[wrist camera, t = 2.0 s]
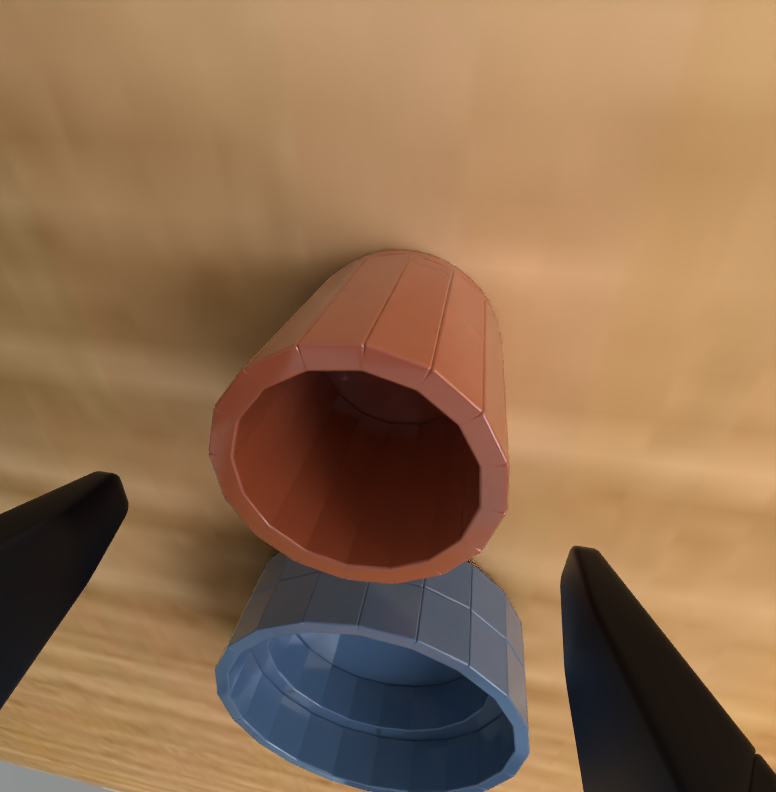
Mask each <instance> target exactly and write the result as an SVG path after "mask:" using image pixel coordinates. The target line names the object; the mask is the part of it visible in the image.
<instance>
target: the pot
mask: <svg viewBox="0 0 776 792" xmlns="http://www.w3.org/2000/svg"><path fill="white" fill-rule="evenodd" d="M209 456H210V459H211V462H212V465H213V468H214V470H215V473H216V476H217V479H218V482H219V485H220V488H221V490H222V493H223V495H224V496H225V499H226V500H227V502H228V503H229V504H230V505H231V506H232V508H233V509H234V510H235V511H236V513H237V514H238V515H239V516H240V517H241V519H242V520H243V521H244V522H245V523H246V525H247V526H248V527H249V528H250V529H251V531H252V532H253V533H254V534H256V536H258V537H259V538H261V539H262V540H264V541H265V542H267V543H268V544H270V545H271V546H272V547H274V548H275V549H277V550H278V551H280V552H281V553H283V554H284V555H286V556H287V557H289V558H290V559H292V560H293V561H295V562H297V561H298V563H299V564H302V565H305V566H308V567H310V568H313V569H316V570H319V571H321V572H324V573H327V574H330V575H333V576H335V577H338V578H341V579H344V578H345V579H346V580H352V581H363V582H373V583H384V584H394V583H395V584H400V583H405V582H410V581H415V580H420V579H425V578H431V577H436V576H440V575H441V574H442V575H444V574H446V573H448V572H449V571H451V570H452V569H454V568H456V567H457V566H459V565H461V564H462V563H464V562H466V561H467V560H469V559H471V558H472V557H474V556H476V555H477V554H479V553H480V552H481V551H482V550H483V549H484V547H485V546H486V544H487V543H488V541H489V540H490V538H491V537H492V535H493V533H494V532H495V530H496V529H497V527H498V526H499V524H500V523H501V521H502V519H503V518H504V516H505V515H506V511H507V509H508V490H509V468H510V464H509V448H508V431H507V415H506V399H505V383H504V367H503V351H502V338H501V333H500V331H499V326H498V322H497V319H496V316H495V313H494V311H493V309H492V307H491V305H490V303H489V301H488V299H487V298H486V296H485V295H484V293H483V292H482V291H481V289H480V288H479V287H478V286H477V285H476V284H475V283H474V282H473V280H472V279H471V278H470V277H468V276H467V275H466V274H465V273H463V272H462V271H461V270H460V269H458V268H456V267H455V266H453V265H451V264H450V263H448V262H446V261H444V260H442V259H439V258H437V257H435V256H431V255H428V254H424V253H421V252H414V251H408V250H390V251H382V252H377V253H373V254H369V255H366V256H363V257H361V258H359V259H356V260H354V261H352V262H351V263H349V264H347V265H346V266H344V267H343V268H341V269H340V270H339V271H338V272H336V273H334V274H333V275H332V276H330V277H329V278H328V279H327V280H326V281H325V282H324V284H323V285H322V286H321V287H320V288H319V289H318V290H317V291H316V292H315V293H314V294H313V295H312V296H311V297H310V298H309V299H308V300H307V301H306V302H305V303H304V304H303V305H302V307H301V308H300V309H299V310H298V311H297V312H296V313H295V314H294V315H293V316H292V317H291V318H290V319H289V320H288V321H287V322H286V323H285V324H284V325H283V326H282V327H281V328H280V330H279V331H278V332H277V333H276V334H275V335H274V336H273V337H272V338H271V339H270V340H269V341H268V342H267V343H266V344H265V345H264V346H263V347H262V348H261V349H260V350H259V351H258V353H257V354H256V355H255V356H254V357H253V358H252V359H251V360H250V361H249V362H248V363H247V364H246V365H245V366H244V367H243V368H242V369H241V371H240V372H239V373H238V375H237V376H236V377H235V379H234V380H233V381H232V383H231V384H230V385H229V387H228V388H227V389H226V391H225V392H224V393H223V395H222V396H221V397H220V399H219V400H218V401H217V403H216V404H215V408H214V411H213V419H212V428H211V436H210V444H209Z"/></svg>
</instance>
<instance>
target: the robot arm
mask: <svg viewBox="0 0 776 792" xmlns="http://www.w3.org/2000/svg"><path fill="white" fill-rule="evenodd" d="M127 511H128V500H127V497H126V494H125V491H124V488H123V485H122V482H121V479H120V477H119V476H118V475H117V474H114V473H108V472H102V471H97V472H93V473H91V474H89V475H87V476H84V477H82V478H80V479H78V480H75V481H73V482H71V483H69V484H67V485H64V486H62V487H60V488H58V489H55V490H53V491H51V492H49V493H46V494H44V495H42V496H40V497H38V498H35V499H33V500H31V501H29V502H26V503H24V504H22V505H20V506H17V507H15V508H13V509H11V510H9V511H6V512H4V513H2V514H0V709H1V708H2V707H3V705H4V704H5V702H6V701H7V699H8V698H9V696H10V695H11V694H12V692H13V691H14V689H15V688H16V686H17V685H18V683H19V682H20V681H21V679H22V678H23V676H24V675H25V673H26V672H27V670H28V669H29V667H30V666H31V665H32V663H33V662H34V660H35V659H36V657H37V656H38V654H39V653H40V652H41V650H42V649H43V647H44V646H45V644H46V643H47V641H48V640H49V639H50V637H51V636H52V634H53V633H54V631H55V630H56V628H57V627H58V625H59V624H60V623H61V621H62V620H63V618H64V617H65V615H66V614H67V612H68V611H69V610H70V608H71V607H72V605H73V604H74V602H75V601H76V599H77V598H78V597H79V595H80V594H81V592H82V591H83V589H84V588H85V586H86V585H87V583H88V582H89V580H90V578H91V576H92V575H93V573H94V571H95V570H96V568H97V566H98V564H99V563H100V561H101V559H102V557H103V555H104V554H105V552H106V550H107V548H108V547H109V545H110V543H111V541H112V539H113V538H114V536H115V534H116V532H117V531H118V529H119V527H120V525H121V523H122V522H123V520H124V518H125V516H126V514H127ZM560 589H561V609H562V630H563V650H564V667H565V677H566V684H567V691H568V697H569V703H570V709H571V716H572V722H573V728H574V734H575V740H576V746H577V753H578V759H579V765H580V771H581V777H582V783H583V790H584V792H776V774H775V773H774V771H773V770H772V769H771V768H770V766H769V765H768V764H767V762H766V761H765V760H764V759H763V757H762V756H761V755H759V754H755V748H754V746H753V745H752V744H751V743H750V741H749V740H748V739H747V738H746V736H745V735H744V734H743V733H742V731H741V730H740V729H739V728H738V726H737V725H736V724H735V722H734V721H733V720H732V719H731V717H730V716H729V715H728V714H727V712H726V711H725V710H724V709H723V707H722V706H721V705H720V704H719V702H718V701H717V700H716V699H715V697H714V696H713V695H712V693H711V692H710V691H709V690H708V688H707V687H706V686H705V685H704V683H703V682H702V681H701V680H700V678H699V677H698V676H697V675H696V673H695V672H694V671H693V670H692V668H691V667H690V666H689V664H688V663H687V662H686V661H685V659H684V658H683V657H682V656H681V654H680V653H679V652H678V651H677V649H676V648H675V647H674V646H673V644H672V643H671V642H670V640H669V639H668V638H667V637H666V635H665V634H664V633H663V632H662V630H661V629H660V628H659V627H658V625H657V624H656V623H655V622H654V620H653V619H652V618H651V617H650V615H649V614H648V613H647V611H646V610H645V609H644V608H643V606H642V605H641V604H640V603H639V601H638V600H637V599H636V598H635V596H634V595H633V594H632V593H631V591H630V590H629V589H628V588H627V586H626V585H625V584H624V582H623V581H622V580H621V579H620V577H619V576H618V575H617V574H616V572H615V571H614V570H613V569H612V567H611V566H610V565H609V564H608V562H607V561H606V560H605V559H604V557H603V556H602V555H601V553H600V552H599V551H597V550H596V549H594V548H588V547H582V546H573V547H572V548H571V550H570V552H569V555H568V558H567V561H566V564H565V567H564V569H563V572H562V576H561V584H560Z"/></svg>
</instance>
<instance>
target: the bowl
mask: <svg viewBox="0 0 776 792" xmlns="http://www.w3.org/2000/svg"><path fill="white" fill-rule="evenodd" d="M215 676H216V685H217V694H218V696H219V698H220V699H221V701H222V702H223V704H224V706H225V707H226V709H227V711H228V712H229V714H230V716H231V717H232V719H234V721H235V722H236V723H238V724H239V725H240V726H241V727H242V728H243V729H244V730H245V731H246V732H247V733H248V734H249V735H251V736H252V737H253V738H254V739H255V740H256V741H257V742H258V743H260V744H261V745H263V746H264V747H266V748H268V749H269V750H271V751H272V752H274V753H276V754H277V755H279V756H281V757H282V758H284V759H285V760H287V761H289V762H290V763H292V764H294V765H296V766H299V767H301V768H303V769H306V770H308V771H310V772H313V773H315V774H317V775H320V776H322V777H324V778H326V779H330V780H331V781H335V782H338V783H342V784H345V785H349V786H352V787H356V788H359V789H363V790H366V791H371V792H483V791H487V790H489V789H491V788H493V787H495V786H497V785H499V784H501V783H502V782H504V781H506V780H508V779H510V778H512V777H514V776H515V775H516V773H517V772H518V770H519V769H520V767H521V766H522V764H523V763H524V762H525V760H526V759H527V757H528V756H529V753H530V747H529V727H528V712H527V697H526V682H525V667H524V652H523V637H522V623H521V620H520V619H519V617H518V615H517V613H516V612H515V610H514V608H513V606H512V605H511V603H510V601H509V599H508V598H507V596H506V594H505V593H504V591H503V590H502V589H501V588H499V587H498V586H497V585H496V584H495V583H494V582H493V581H491V580H490V579H489V578H488V577H487V576H486V575H484V574H483V573H482V572H481V571H480V570H479V569H478V568H476V567H475V566H474V565H471V564H470V563H468V562H464V563H462V564H461V565H459V566H457V567H456V568H454V569H452V570H451V571H449V572H448V573H446V574H444V575H442V574H441V575H440V576H436V577H431V578H425V579H420V580H415V581H410V582H405V583H400V584H395V583H394V584H384V583H373V582H363V581H352V580H346V579H345V578H344V579H341V578H338V577H335V576H333V575H330V574H327V573H324V572H321V571H319V570H316V569H313V568H310V567H308V566H305V565H302V564H299V563H298V561H297V562H295V561H293V560H292V559H290V558H289V557H287V556H286V555H284V554H283V553H281V552H280V553H278V554H277V555H275V556H274V557H272V558H271V559H270V560H269V562H268V563H267V565H266V567H265V569H264V571H263V573H262V574H261V576H260V578H259V580H258V582H257V584H256V586H255V588H254V590H253V592H252V594H251V596H250V598H249V600H248V602H247V604H246V606H245V608H244V610H243V612H242V614H241V616H240V618H239V621H238V622H237V624H236V626H235V629H234V631H233V633H232V635H231V637H230V639H229V641H228V643H227V645H226V647H225V649H224V651H223V653H222V655H221V657H220V659H219V661H218V663H217V665H216V668H215Z"/></svg>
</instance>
